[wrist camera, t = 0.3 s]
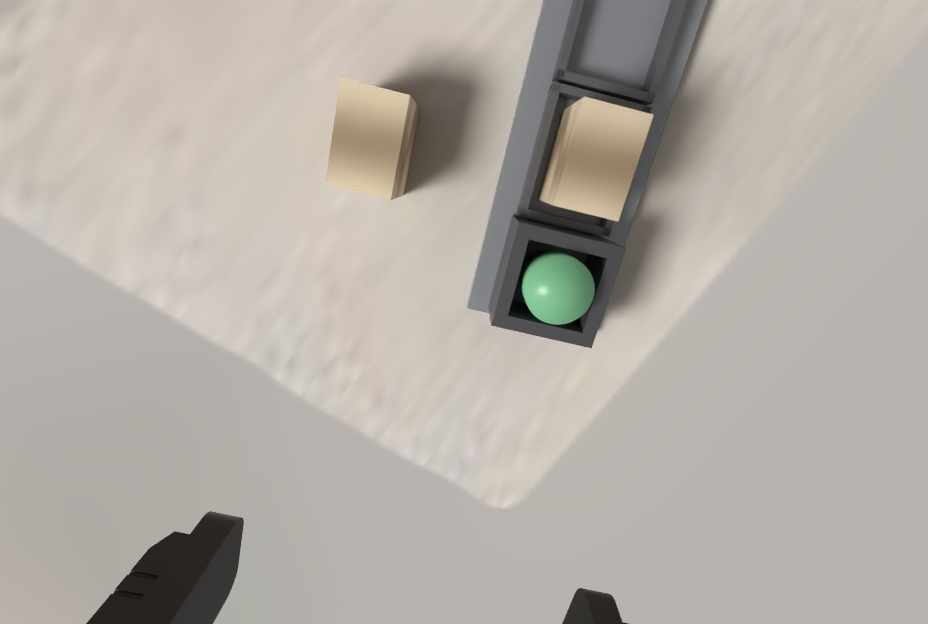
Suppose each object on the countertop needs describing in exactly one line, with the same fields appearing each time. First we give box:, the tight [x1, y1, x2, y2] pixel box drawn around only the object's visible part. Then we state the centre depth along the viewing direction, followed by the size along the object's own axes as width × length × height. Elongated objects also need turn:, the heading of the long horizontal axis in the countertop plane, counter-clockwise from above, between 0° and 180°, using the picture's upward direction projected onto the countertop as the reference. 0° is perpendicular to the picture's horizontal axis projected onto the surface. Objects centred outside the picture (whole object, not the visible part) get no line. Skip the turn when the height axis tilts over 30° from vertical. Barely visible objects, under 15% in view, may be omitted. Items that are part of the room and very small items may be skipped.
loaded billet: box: [538, 97, 654, 221], centre depth 29 cm, size 6×4×6 cm, turn 167°
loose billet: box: [326, 78, 420, 200], centre depth 30 cm, size 6×4×6 cm, turn 167°
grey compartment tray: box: [468, 0, 708, 348], centre depth 30 cm, size 25×10×6 cm, turn 167°
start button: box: [520, 249, 595, 325], centre depth 30 cm, size 4×4×3 cm
